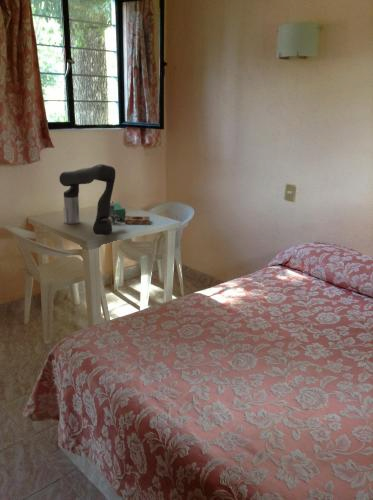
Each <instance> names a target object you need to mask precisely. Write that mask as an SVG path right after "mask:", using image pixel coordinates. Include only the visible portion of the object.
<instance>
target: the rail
mask: <svg viewBox="0 0 373 500" xmlns="http://www.w3.org/2000/svg"><path fill="white" fill-rule="evenodd" d="M150 218H151V216H146V215H143V216H139V215H132V216H131V215H125V217H124V225H150V221H151V220H150Z"/></svg>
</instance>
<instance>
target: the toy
mask: <svg viewBox="0 0 373 500" xmlns="http://www.w3.org/2000/svg"><path fill="white" fill-rule="evenodd" d="M111 201H112V203H111V204H115V214H117V215H120V219H125V217H126V214H127V210H126V208H123V207H122V206H121V205H120V204H119V203H114V201H113V200H111ZM124 216H125V217H124Z"/></svg>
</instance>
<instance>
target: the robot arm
mask: <svg viewBox="0 0 373 500" xmlns="http://www.w3.org/2000/svg"><path fill="white" fill-rule="evenodd" d="M94 181H99V182H104V183H106V185H105V189H104V191H103V193H102V194H101V196H100V197H99V199H98V201H97V206H96V207H97V208H96V209H97V211H96V218H95V221H94V223H93V227H92V230H93V231H92V232H93V234H94V235H99V236H100V235H101V236H109V235H111V234H112V232H113V225H114V224H113V221H115V222H120V220H121V218H120V215H117V214H115V215H110V204H111V201H112V195H113V190H114V186H115V181H116V169H115V168H114V167H113V166H111V165H106V164H102V163H100V164H96V165H94V166H92V167H84V168H80V169H76V170H72V171H69V170H68V171H63V172H61V173H60V175H59V183H60V184H61V186H63V187H69V188H68V189H67V190H65V191H63V205H64V207H63V220H64V221H63V222H64V223H66V224H67V225H73V224H74V225H75V224H79V223H80V221H81V220H80V205H79V204H80V202H79V201H80V200H79V193H80V185H87V184H88V185H89V184H91V183H92V182H94Z"/></svg>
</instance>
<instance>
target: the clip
mask: <svg viewBox="0 0 373 500" xmlns="http://www.w3.org/2000/svg"><path fill="white" fill-rule="evenodd" d="M115 204H116V203H113V204H112V203H110V215H115ZM115 223H116V220H115V221H113V224H112V225H114V224H115Z"/></svg>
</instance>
